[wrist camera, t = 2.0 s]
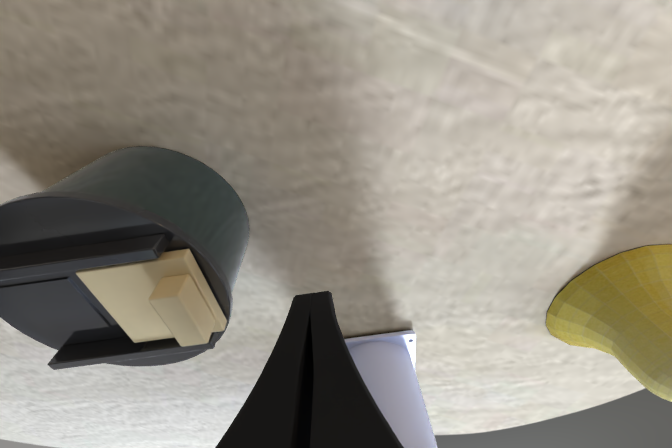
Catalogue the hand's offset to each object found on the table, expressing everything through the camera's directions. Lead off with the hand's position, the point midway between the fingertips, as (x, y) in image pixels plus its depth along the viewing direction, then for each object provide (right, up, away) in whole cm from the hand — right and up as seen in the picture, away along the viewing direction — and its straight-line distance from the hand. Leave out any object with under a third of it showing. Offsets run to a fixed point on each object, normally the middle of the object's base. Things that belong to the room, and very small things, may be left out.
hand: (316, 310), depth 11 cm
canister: (-10, +3, +7) cm, 13 cm away
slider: (-7, 0, +2) cm, 7 cm away
